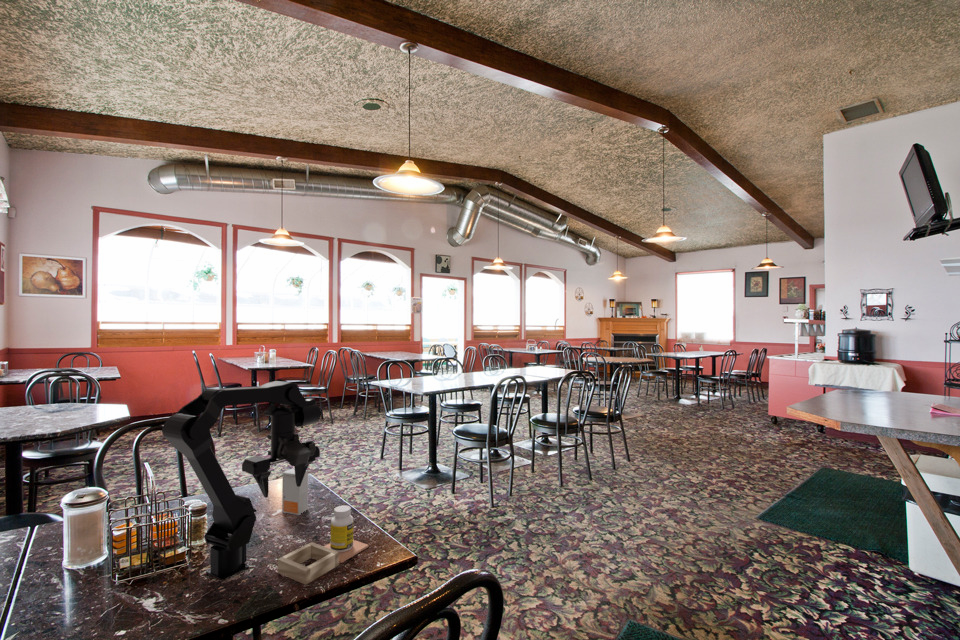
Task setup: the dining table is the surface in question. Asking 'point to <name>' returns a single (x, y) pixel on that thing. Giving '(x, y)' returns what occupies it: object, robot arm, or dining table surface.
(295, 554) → the pocket block
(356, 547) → the tile
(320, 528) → the dining table surface
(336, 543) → the supplement bottle
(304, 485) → the skincare box
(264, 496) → the robot arm
